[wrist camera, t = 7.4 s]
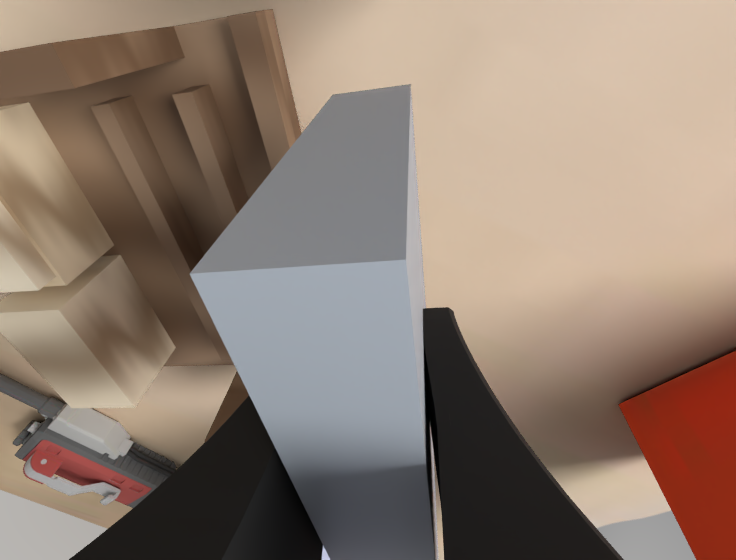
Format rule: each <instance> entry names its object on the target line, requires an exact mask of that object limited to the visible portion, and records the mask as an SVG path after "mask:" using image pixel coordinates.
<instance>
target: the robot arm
mask: <svg viewBox="0 0 736 560" xmlns="http://www.w3.org/2000/svg"><path fill="white" fill-rule="evenodd" d="M423 342H424V355H425V368H426V381H427V394H428V406H429V419H430V427H431V435H432V442H433V449H434V457H435V464H436V472H437V479H438V486H439V494H440V501H441V510H442V525H443V543H444V560H623V558H622V557H621V556H620V555H619V554H618V553H617V551H616V550H615V549H614V548H613V547H612V546H611V545H610V543H608V541H607V540H606V539H605V538H604V537H603V536H602V534H601V533H600V532H599V531H598V530H597V529H596V527H595V526H594V525H593V524H592V523H591V522H590V520H589V519H588V518H587V517H586V516H585V515H584V514H583V512H582V511H581V510H580V509H579V508H578V507H577V506H576V504H575V503H574V502H573V501H572V500H571V499H570V497H569V496H568V495H567V494H566V492H565V491H564V490H563V489H562V487H561V486H560V485H559V484H558V482H557V481H556V480H555V479H554V477H553V476H552V475H551V474H550V472H549V471H548V470H547V469H546V467H545V466H544V465H543V463H542V462H541V461H540V459H539V458H538V457H537V455H536V454H535V453H534V451H533V450H532V449H531V447H530V446H529V445H528V443H527V442H526V441H525V439H524V438H523V436H522V435H521V434H520V432H519V431H518V429H517V428H516V427H515V425H514V424H513V422H512V421H511V419H510V418H509V416H508V415H507V413H506V412H505V410H504V409H503V407H502V406H501V404H500V403H499V401H498V400H497V398H496V396H495V395H494V393H493V392H492V390H491V388H490V387H489V385H488V383H487V382H486V380H485V378H484V376H483V375H482V373H481V371H480V369H479V368H478V366H477V364H476V362H475V361H474V359H473V357H472V355H471V353H470V351H469V349H468V347H467V345H466V343H465V341H464V339H463V336H462V334H461V332H460V330H459V327H458V325H457V322H456V319H455V316H454V312H453V311H452V310H451V309H450V308H449V307H446V308H424V309H423ZM69 560H330V558H329V556H328V554H327V552H326V550H325V548H324V546H323V544H322V542H321V540H320V538H319V536H318V534H317V532H316V530H315V528H314V526H313V523H312V521H311V519H310V517H309V515H308V513H307V511H306V509H305V507H304V505H303V503H302V501H301V499H300V497H299V495H298V493H297V491H296V489H295V487H294V485H293V483H292V481H291V479H290V477H289V475H288V473H287V471H286V469H285V467H284V465H283V463H282V461H281V459H280V456H279V454H278V452H277V450H276V448H275V446H274V444H273V442H272V440H271V438H270V436H269V434H268V432H267V430H266V428H265V426H264V424H263V422H262V420H261V418H260V416H259V414H258V412H257V410H256V408H255V406H254V404H253V402H252V400H251V398H250V396H248V397H247V398H246V399H245V400H244V401H243V402H242V404H241V405H240V406H239V407H238V408H237V409H236V410H235V411H234V413H233V414H232V415H231V416H230V417H229V418H228V419H227V420H226V421H225V423H224V424H223V425H222V426H221V427H220V428H219V429H218V430H217V431H216V432H215V433H214V434H213V435H212V436H211V437H210V438H209V439H208V440H207V441H206V442H205V443H204V444H203V445H202V446H201V447H200V448H199V449H198V450H197V451H196V452H195V453H194V454H193V455H192V456H191V457H190V458H189V459H188V460H187V461H186V462H185V463H184V464H183V465H181V466H180V467H179V468H178V469H177V470H176V471H175V472H174V473H173V474H172V475H171V476H169V477H168V478H167V479H166V480H165V481H164V482H163V483H162V484H160V485H159V486H158V487H157V488H156V489H155V490H154V491H152V492H151V493H150V494H149V495H148V496H147V497H146V498H145V499H143V500H142V501H141V502H140V503H139V504H138V505H137V506H135V507H134V508H133V509H132V510H131V511H130V512H128V513H127V514H126V515H125V516H123V517H122V518H121V519H120V520H118V521H117V522H116V523H115V524H114V525H112V526H111V527H110V528H109V529H107V530H106V531H105V532H104V533H102V534H101V535H100V536H99V537H97V538H96V539H95V540H94V541H92V542H91V543H90V544H89V545H87V546H86V547H85V548H83V549H82V550H81V551H80V552H78V553H77V554H76V555H75V556H73V557H72V558H71V559H69Z"/></svg>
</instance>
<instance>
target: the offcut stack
mask: <svg viewBox="0 0 736 560" xmlns="http://www.w3.org/2000/svg"><path fill="white" fill-rule="evenodd" d="M113 246H114V244H113V242H112V240H111V239H110V237H109V235H108V234H107V232H106V230H105V229H104V227H103V225H102V224H101V222H100V220H99V219H98V217H97V215H96V214H95V212H94V210H93V209H92V207H91V205H90V204H89V202H88V200H87V199H86V197H85V195H84V194H83V192H82V190H81V189H80V187H79V185H78V184H77V182H76V180H75V179H74V177H73V175H72V174H71V172H70V170H69V169H68V167H67V165H66V164H65V162H64V160H63V159H62V157H61V155H60V154H59V152H58V150H57V149H56V147H55V145H54V144H53V142H52V140H51V139H50V137H49V135H48V134H47V132H46V130H45V129H44V127H43V125H42V123H41V122H40V120H39V118H38V117H37V115H36V113H35V112H34V110H33V108H32V107H31V105H30V103H29V102H28V103H22V104H15V105H9V106H2V107H0V293H5V292H12V293H10V294H9V295H8V296H6V297H5V298H4V299H2V300H1V301H0V333H1V334H2V335H3V336H4V337H5V338H6V339H7V340H8V341H9V342H10V343H11V344H12V345H13V346H14V347H15V349H16V350H17V351H18V352H19V353H20V354H21V355H22V356H23V357H24V358H25V359H26V360H27V361H28V362H29V363H30V365H31V366H32V367H33V368H34V369H35V370H36V371H37V372H38V373H39V374H40V375H41V376H42V377H43V378H44V379H45V381H46V382H47V383H48V384H49V385H50V386H51V387H52V388H53V389H54V390H55V391H56V392H57V393H58V394H59V395H60V396H61V398H62V399H63V400H64V401H65V402H66V403H67V404H68V405H69V406H70V407H71V408H136V406H137V405H138V403H139V402H140V400H141V399H142V397H143V396H144V394H145V393H146V391H147V390H148V388H149V387H150V385H151V384H152V382H153V381H154V379H155V378H156V376H157V375H158V373H159V372H160V370H161V369H162V367H163V366H164V364H165V363H166V361H167V360H168V358H169V357H170V355H171V354H172V352H173V351H174V349H175V348H176V347H175V345H174V344H173V342H172V340H171V339H170V337H169V335H168V334H167V332H166V330H165V329H164V327H163V325H162V324H161V322H160V320H159V319H158V317H157V315H156V314H155V312H154V310H153V309H152V307H151V305H150V304H149V302H148V300H147V299H146V297H145V295H144V294H143V292H142V290H141V289H140V287H139V285H138V284H137V282H136V280H135V279H134V277H133V275H132V274H131V272H130V270H129V269H128V267H127V265H126V264H125V262H124V260H123V259H122V257H121V255H111V256H102V255H103V254H105V253H106V252H107V251H108V250H109V249H111V248H112V247H113Z"/></svg>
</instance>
